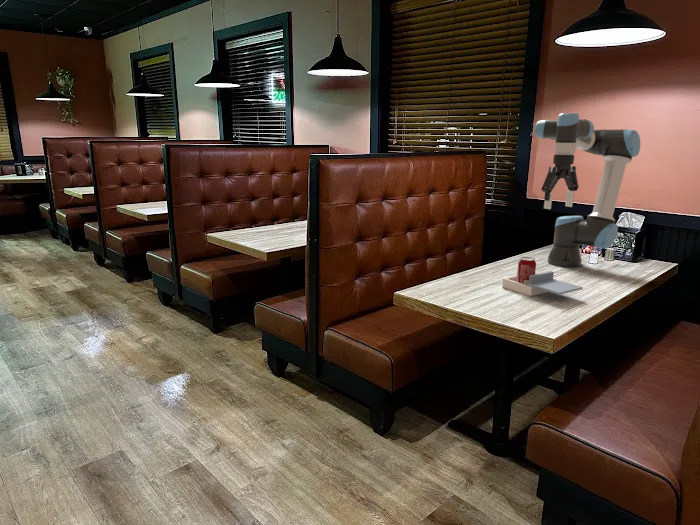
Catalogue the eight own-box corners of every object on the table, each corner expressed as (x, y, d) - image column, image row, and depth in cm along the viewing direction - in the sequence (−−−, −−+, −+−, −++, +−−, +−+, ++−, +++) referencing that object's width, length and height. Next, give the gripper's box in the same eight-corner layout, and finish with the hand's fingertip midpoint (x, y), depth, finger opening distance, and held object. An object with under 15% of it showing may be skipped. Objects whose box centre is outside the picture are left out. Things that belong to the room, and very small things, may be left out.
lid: (550, 280, 200) (551, 270, 199) (582, 289, 188) (583, 279, 187) (527, 285, 192) (528, 275, 191) (558, 294, 181) (560, 284, 180)
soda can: (534, 290, 197) (538, 260, 194) (517, 289, 198) (520, 259, 195) (532, 285, 204) (535, 256, 201) (514, 284, 205) (517, 255, 202)
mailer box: (525, 282, 210) (526, 273, 210) (553, 290, 199) (554, 282, 198) (502, 286, 203) (503, 278, 202) (530, 296, 192) (531, 287, 191)
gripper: (575, 153, 206) (569, 204, 211) (535, 154, 193) (530, 208, 198) (592, 154, 200) (585, 206, 205) (552, 154, 187) (546, 211, 192)
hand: (558, 207), depth 202 cm, fingers open, 13 cm apart
